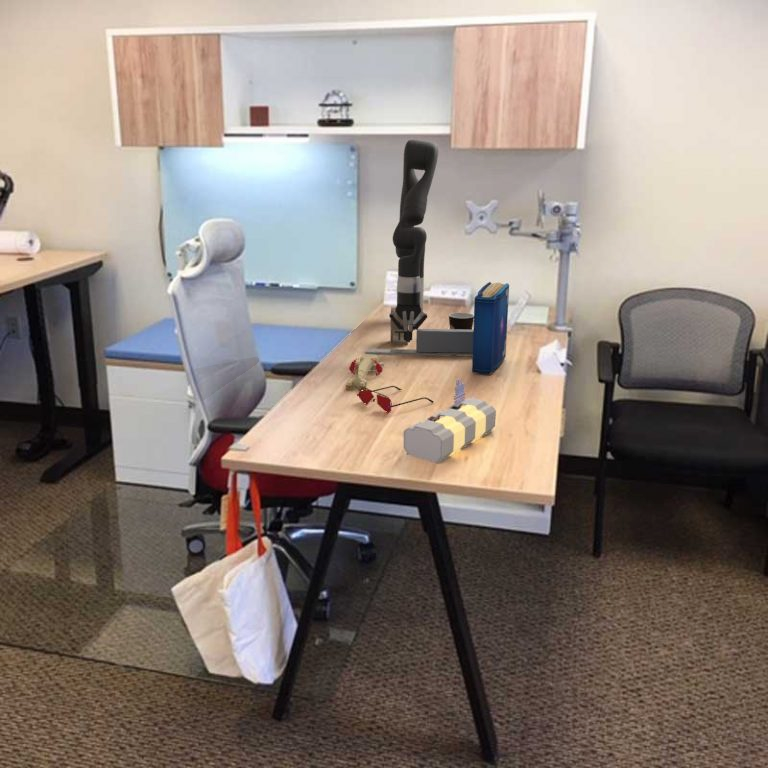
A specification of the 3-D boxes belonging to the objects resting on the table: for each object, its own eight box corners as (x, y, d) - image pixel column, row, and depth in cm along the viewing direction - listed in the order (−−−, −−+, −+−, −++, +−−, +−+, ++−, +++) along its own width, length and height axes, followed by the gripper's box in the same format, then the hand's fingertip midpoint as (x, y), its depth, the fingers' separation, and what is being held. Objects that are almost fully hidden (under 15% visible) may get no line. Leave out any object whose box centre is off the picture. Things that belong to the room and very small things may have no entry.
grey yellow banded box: (458, 424, 208) (460, 375, 204) (494, 433, 202) (497, 382, 198) (403, 454, 188) (404, 401, 184) (441, 465, 183) (443, 410, 179)
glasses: (356, 403, 223) (355, 386, 222) (401, 391, 233) (402, 374, 232) (389, 417, 213) (389, 398, 211) (435, 404, 223) (435, 386, 222)
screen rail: (365, 351, 272) (365, 348, 272) (486, 352, 271) (486, 350, 271) (365, 354, 268) (365, 352, 268) (487, 356, 267) (487, 353, 267)
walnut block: (390, 340, 285) (391, 307, 282) (408, 341, 285) (408, 307, 281) (390, 345, 279) (390, 311, 275) (408, 345, 279) (408, 311, 275)
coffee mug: (473, 347, 278) (475, 318, 275) (448, 346, 278) (449, 318, 275) (471, 338, 289) (472, 310, 286) (446, 338, 289) (447, 310, 286)
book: (492, 377, 245) (496, 295, 237) (469, 375, 247) (472, 293, 240) (505, 358, 265) (510, 282, 257) (484, 356, 267) (487, 280, 259)
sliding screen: (416, 349, 271) (416, 328, 269) (482, 350, 270) (483, 329, 268) (416, 351, 268) (416, 331, 266) (483, 352, 268) (484, 332, 265)
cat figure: (373, 396, 232) (387, 365, 255) (372, 367, 229) (387, 338, 251) (338, 394, 233) (356, 363, 256) (338, 366, 230) (355, 337, 253)
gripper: (429, 287, 267) (427, 339, 272) (388, 287, 267) (387, 338, 272) (429, 292, 260) (428, 345, 265) (387, 291, 260) (387, 344, 265)
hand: (407, 341), depth 269 cm, fingers closed
